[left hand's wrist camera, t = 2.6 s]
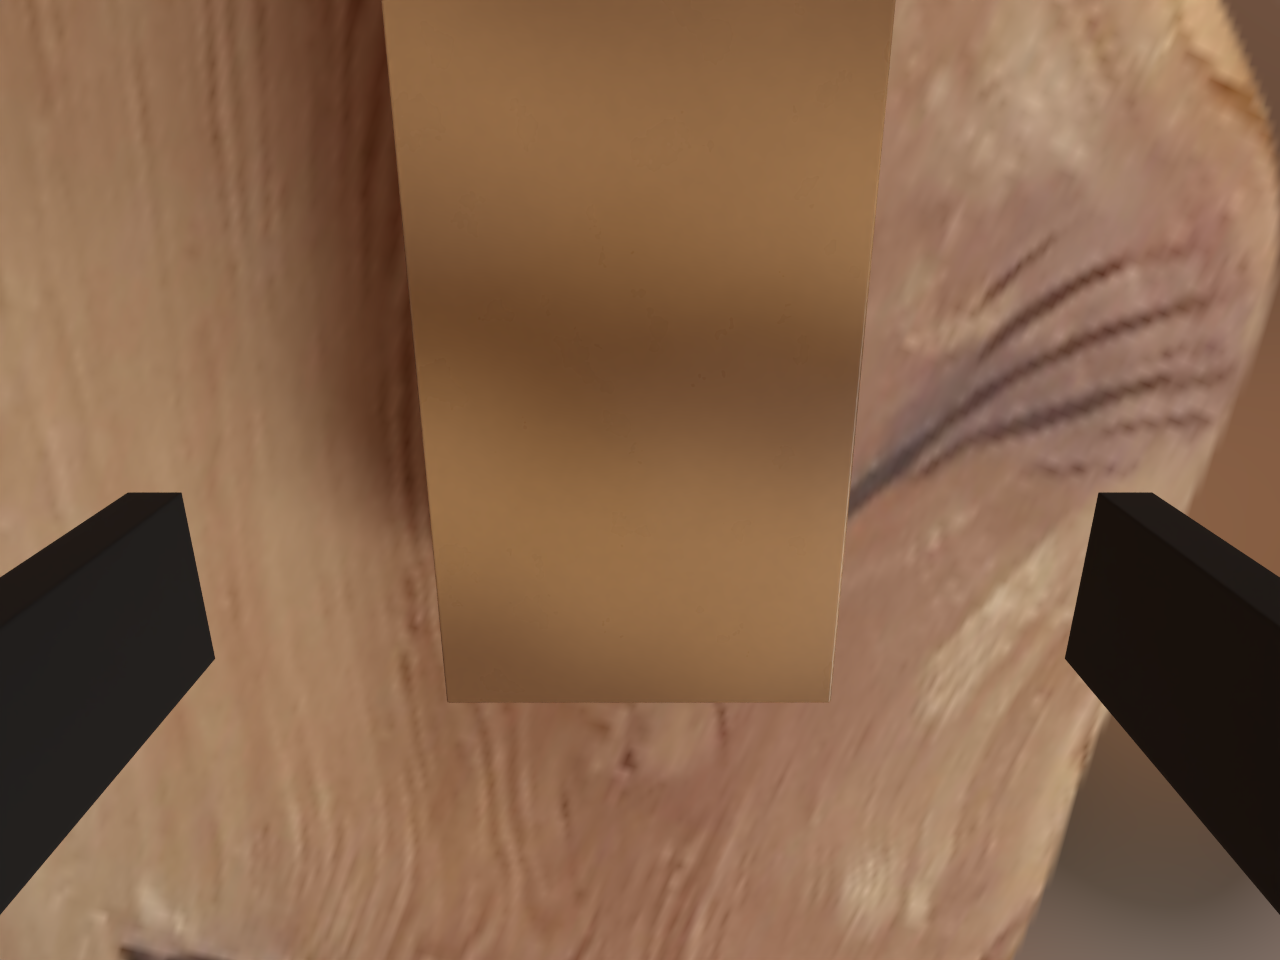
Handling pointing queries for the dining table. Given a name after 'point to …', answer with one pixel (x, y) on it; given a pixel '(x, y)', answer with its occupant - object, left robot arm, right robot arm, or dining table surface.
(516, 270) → the long beam
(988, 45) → the dining table surface
